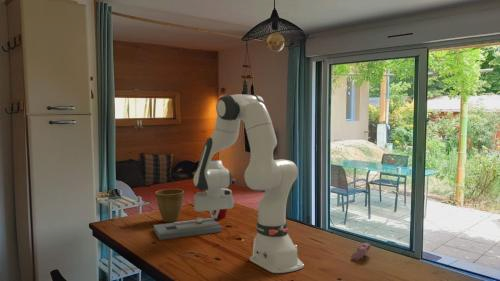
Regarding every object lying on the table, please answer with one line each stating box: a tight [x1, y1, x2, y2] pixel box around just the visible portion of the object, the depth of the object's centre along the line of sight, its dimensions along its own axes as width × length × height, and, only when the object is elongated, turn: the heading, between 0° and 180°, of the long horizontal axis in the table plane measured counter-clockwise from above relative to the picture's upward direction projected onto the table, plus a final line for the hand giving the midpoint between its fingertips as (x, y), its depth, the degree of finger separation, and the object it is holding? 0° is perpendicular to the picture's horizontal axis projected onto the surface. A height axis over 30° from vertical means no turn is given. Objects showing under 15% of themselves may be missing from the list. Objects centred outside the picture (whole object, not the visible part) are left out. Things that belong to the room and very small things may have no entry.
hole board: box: [153, 217, 223, 241], centre depth 184 cm, size 16×30×4 cm, turn 114°
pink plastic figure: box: [350, 242, 372, 261], centre depth 150 cm, size 10×5×7 cm, turn 149°
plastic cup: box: [213, 209, 228, 220], centre depth 208 cm, size 11×11×12 cm
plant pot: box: [155, 188, 185, 224], centre depth 201 cm, size 15×15×16 cm
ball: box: [194, 216, 204, 224], centre depth 186 cm, size 4×4×4 cm
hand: (214, 218), depth 190 cm, fingers closed
